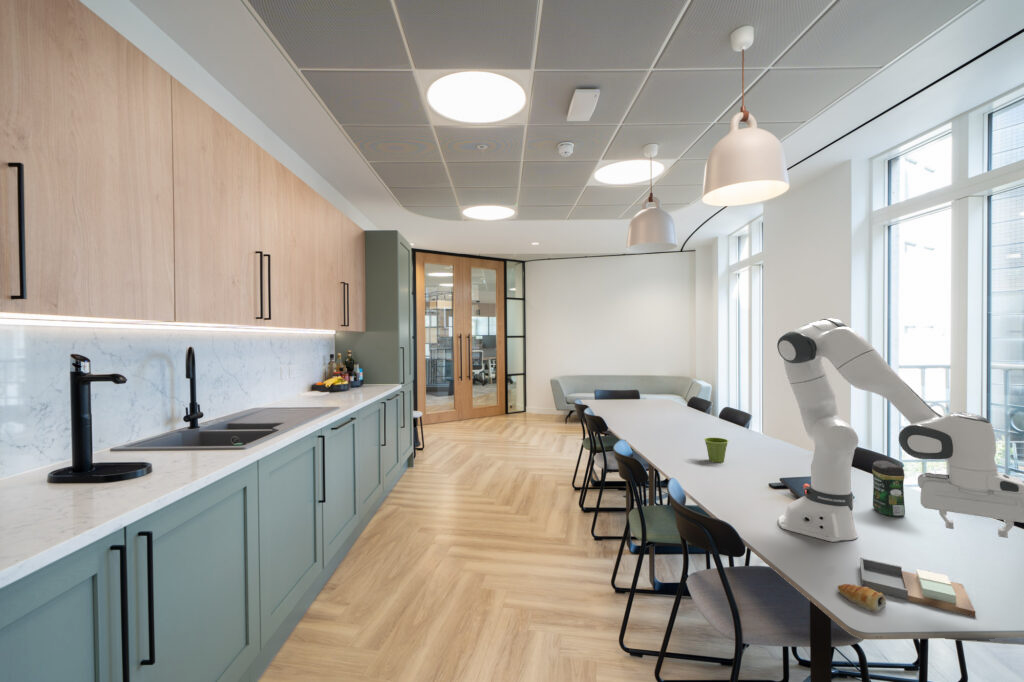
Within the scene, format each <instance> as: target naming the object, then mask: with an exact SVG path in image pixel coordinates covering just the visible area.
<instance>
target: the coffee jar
mask: <svg viewBox="0 0 1024 682" xmlns="http://www.w3.org/2000/svg"><path fill="white" fill-rule="evenodd" d="M871 468H872V469H871V471H872V478H873V479H872V481H873V483H872V484H873V486H872V487H873V488H872V490H873V491H872V508H873V509H874V510H875V511H877V512H878V513H881V514H882V515H884V516H889V517H890V516H891V517H896V518H899V517H904V516H905V515H906V507H905V495H904V494H905V492H904V481H905V469H904V468H903V467H901V466H898V465H896V464H894V463H892V462H890V461H888V460H875V461H874V462H873V463H872V467H871Z"/></svg>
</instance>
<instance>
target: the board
mask: <svg viewBox="0 0 1024 682" xmlns="http://www.w3.org/2000/svg"><path fill="white" fill-rule="evenodd" d="M902 579H903V582H904V586H905V589H907V590H908V600H907V601H909V602H913V603H917V604H921V605H925V606H930V607H934V608H937V609H941V610H945V611H946V610H947V611H949V612H954V613H957V612H958V613H957V614H962V615H966V616H970V617H974V618H976V610H975V608H974V606H973V604H972V602H971V600H970V598H969V595H968V594H967V591H966V589H965V587H964V585H963V583H959V582H954V581H950V583H951V586H952V588H953V590H954V592H955V594H956V604H954V603H950V602H945V601H941V600H937V599H933V598H929V597H924V596H923V595H922V592H921V589H920V585H919V582H918V579H917V573H913V572H909V571H904V570H902Z"/></svg>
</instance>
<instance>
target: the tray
mask: <svg viewBox="0 0 1024 682" xmlns="http://www.w3.org/2000/svg"><path fill="white" fill-rule="evenodd" d="M859 566H860V567H859V569H860V577H861V578H860V579H861V587H868V588H870V589H872V590H874V591H876V592H878V593H882V594H883V595H884V596H888V597H892V598H897V599H902V600H905V601H908V590H907V589H905V586H904V582H903V579H902V571H903V569H902V566H900V565H896V564H891V563H887V562H882V561H877V560H873V559H868V558H863V557H860V558H859Z"/></svg>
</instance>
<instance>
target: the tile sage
mask: <svg viewBox="0 0 1024 682" xmlns="http://www.w3.org/2000/svg"><path fill="white" fill-rule="evenodd" d="M920 589H921V592H922V595H923V596H924V597H929V598H933V599H937V600H941V601H945V602H950V603H954V604H956V594H955V592H954V590H953V588H952V586H949V585H944V584H939V583H935V582H930V581H926V580H921V579H920Z"/></svg>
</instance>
